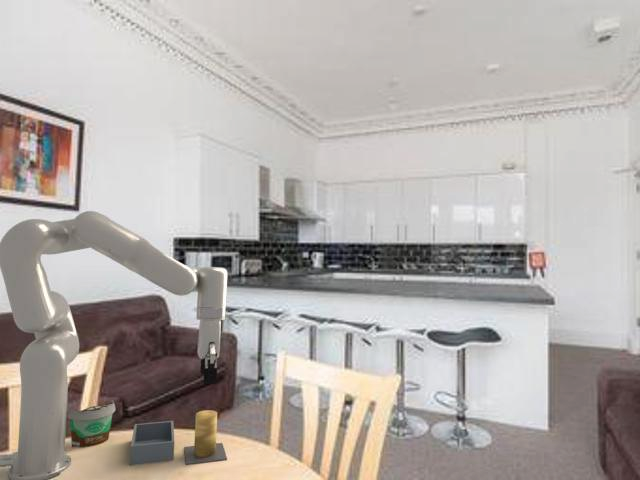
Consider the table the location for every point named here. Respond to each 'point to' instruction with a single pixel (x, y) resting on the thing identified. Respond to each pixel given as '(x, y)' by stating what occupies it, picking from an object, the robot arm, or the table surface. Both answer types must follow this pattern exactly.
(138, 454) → the slate open box
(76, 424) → the food container
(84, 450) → the table surface
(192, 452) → the gray square plate
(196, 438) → the mustard cylinder
